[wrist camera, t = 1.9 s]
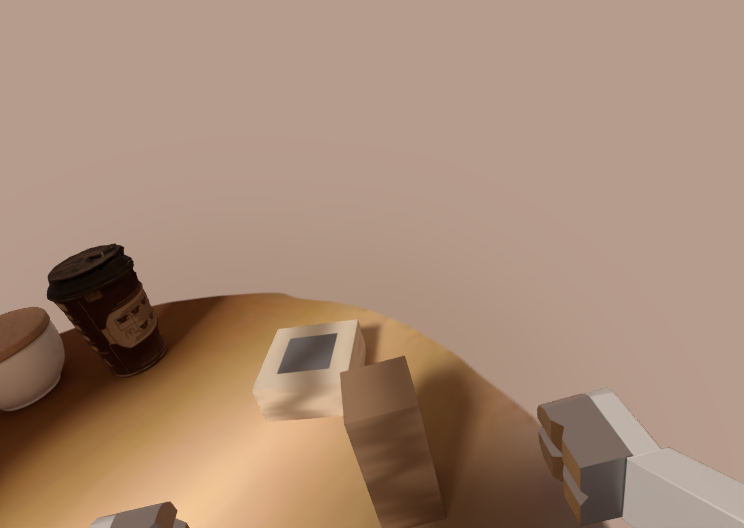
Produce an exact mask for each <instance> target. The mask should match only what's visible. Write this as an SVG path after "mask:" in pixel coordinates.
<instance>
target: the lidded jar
mask: <svg viewBox="0 0 744 528" xmlns="http://www.w3.org/2000/svg"><path fill="white" fill-rule="evenodd" d="M64 360H65V351H64V346H63V342H62V339H61V337H60V335H59V333H58V331H57V329H56V328H55V326H54V325H53V324H52V322H51V321H50V317H49V315H48V314H47V313H46V311H45V310H44V309H42V308H38V307H29V308H23V309H19V310H15V311H11V312H8V313H5V314H2V315H0V410H3V411H14V410H18V409H21V408H24V407H26V406H28V405H30V404H32V403H34V402H36V401H38V400H39V399H41V398H42V397H44V396H45V395H46V394H48V393H49V392H50V391H51V390H52V389H53V388H54V387H55V386H56V385H57V384H58V382H59V380H60V378H61V374H60V373H61V370H62V368H63V365H64Z"/></svg>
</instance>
